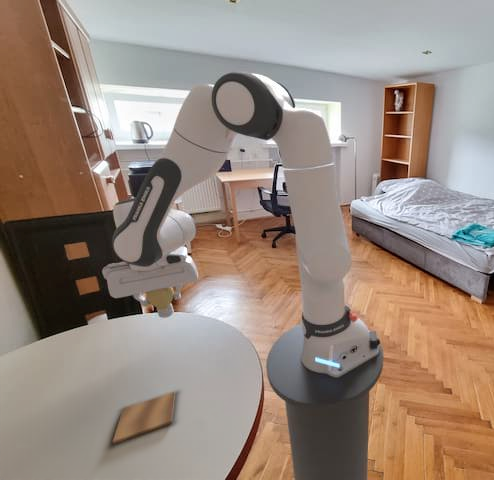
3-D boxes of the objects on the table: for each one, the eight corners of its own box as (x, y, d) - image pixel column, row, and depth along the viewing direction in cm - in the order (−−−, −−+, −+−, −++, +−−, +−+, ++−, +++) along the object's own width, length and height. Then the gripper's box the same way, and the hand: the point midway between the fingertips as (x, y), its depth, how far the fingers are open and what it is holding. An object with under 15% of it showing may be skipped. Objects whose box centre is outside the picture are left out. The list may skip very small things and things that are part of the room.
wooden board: (175, 393, 68) (175, 391, 67) (171, 422, 61) (171, 420, 61) (123, 410, 64) (122, 408, 63) (113, 443, 57) (112, 441, 57)
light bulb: (149, 323, 79) (139, 292, 76) (159, 310, 85) (149, 281, 81) (175, 320, 81) (165, 289, 77) (182, 307, 86) (174, 278, 83)
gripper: (95, 270, 69) (114, 318, 74) (191, 254, 77) (202, 298, 83) (103, 260, 74) (120, 305, 80) (192, 246, 83) (202, 287, 88)
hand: (162, 301), depth 81 cm, fingers closed on light bulb, 6 cm apart
